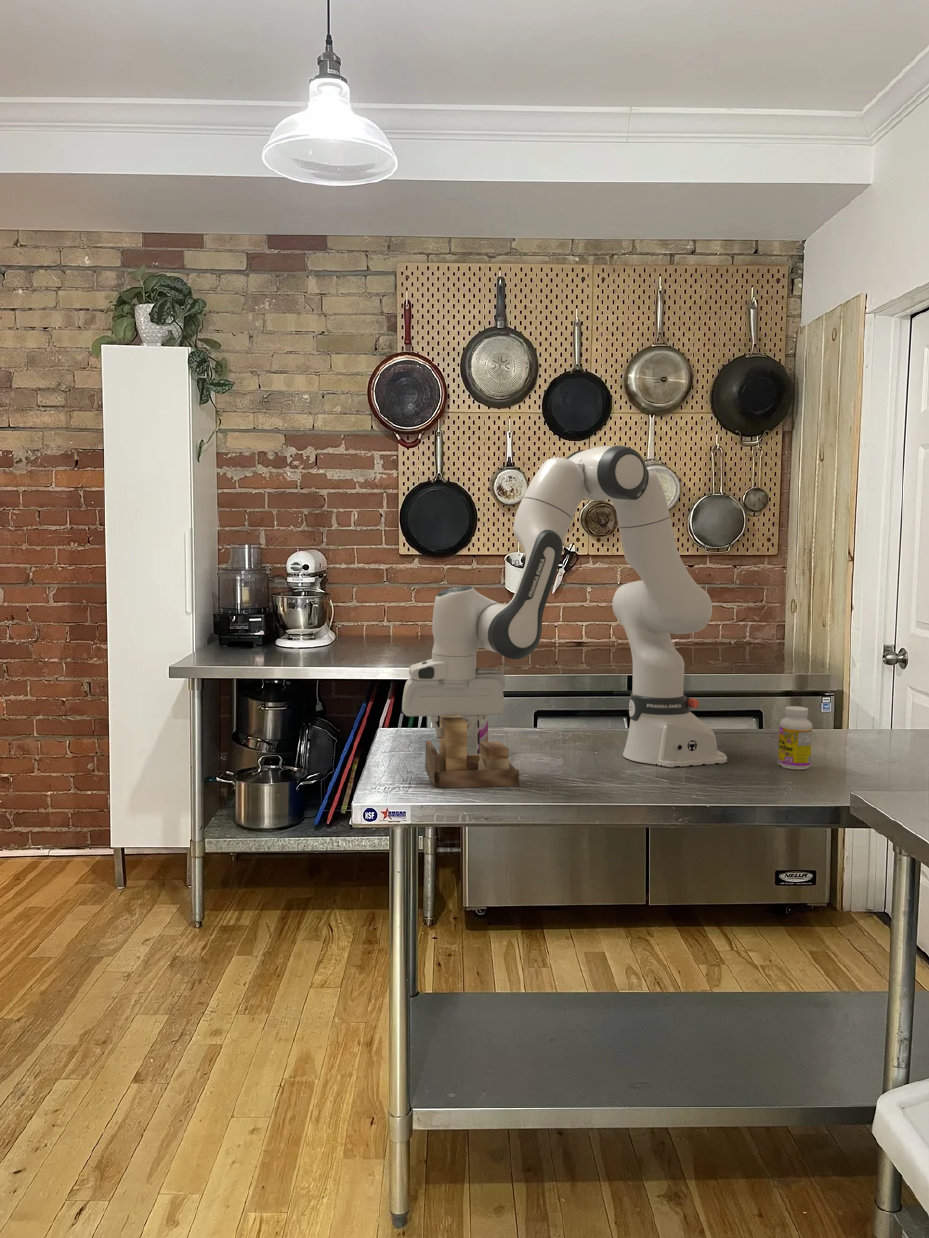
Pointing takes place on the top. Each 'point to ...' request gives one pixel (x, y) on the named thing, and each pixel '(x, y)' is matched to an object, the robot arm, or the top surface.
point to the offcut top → (494, 750)
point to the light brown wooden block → (453, 743)
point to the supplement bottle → (795, 738)
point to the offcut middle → (494, 763)
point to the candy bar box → (477, 734)
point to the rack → (467, 773)
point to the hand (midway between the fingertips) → (452, 737)
